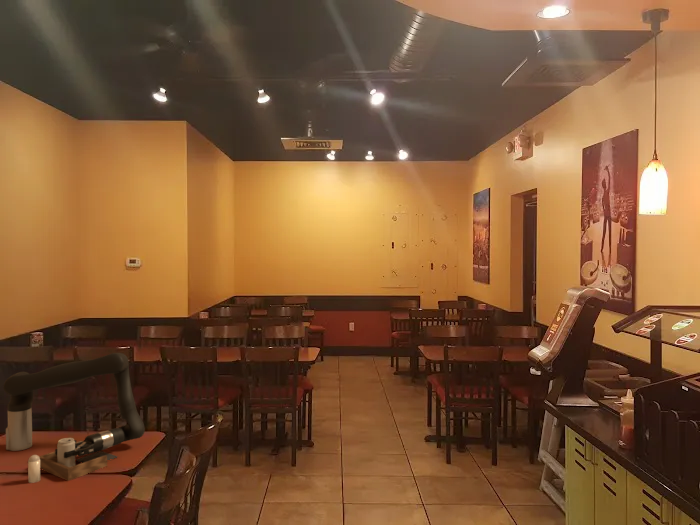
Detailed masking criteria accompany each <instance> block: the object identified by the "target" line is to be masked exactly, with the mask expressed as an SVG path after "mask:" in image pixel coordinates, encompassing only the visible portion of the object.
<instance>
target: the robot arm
mask: <svg viewBox="0 0 700 525" xmlns="http://www.w3.org/2000/svg"><path fill="white" fill-rule="evenodd" d="M104 375H113V377H114V380H115V385H116V398H117V406H118V411H119V414H120V417H121V419H122V420H124V421H126V423H127V424H124V425H122V426H119V427H115V428H111V429H108V430H102V431H100V432H96V433H92V434H90V435H87V436H85V438H84V440H79V441H77V440H76V439H74V441H75V449H74V450H72V451H69V452H64V458H68V457H71V456H76V457H84V456H88V455H91V454H94V453H97V452H100V451H104V450H106V449H108V448H112V447H114V446H118V445H120V444H121V443H124V442H128V441H132V440H136V439H140V438H142V437H143V436H144V434H145V431H146V430H145V424H144V421H143V419H142V418H141V416H140V414H139V412H138V410H137V405H136V401H135V398H134V394H133V388H132V384H131V377H130V376H131V375H130V362H129V358H128V356H127V355H126V354H125V353H123V352H112V353H109V354H106V355H103V356H101V357H97V358H94V359H87V360H86V359H85V360H77V361H72V362H71V361H70V362H66V363H61V364H58V365H54V366H50V367H48V368H46V369H43V370H41V371H38V372H34V373H29V372H27V371H20V372H17V373H14V374H12V375H10V376H9V377H8V378H7V379H6V380H5V381H4V383H3V387H2V388H3V391H4V392H5V393H6V394H8V395H10V399H9V402H8V404H7V427H6V428H5V450H6V451H13V452H15V451H22V450H23V451H24V450H26V449H29V448H32V446H33V416H32V415H33V414H32V412H33V410H32V409H33V408H32V406H33V402H34V393H35V392H34V391H37V390H42V389H46V388H53V387H59V386H64V385H70V384H75V383H78V382H81V381H84V380H86V379H89V378H92V377H96V376H104ZM54 452H55V454H56V455H57V448H55V449H54ZM77 455H78V456H77Z"/></svg>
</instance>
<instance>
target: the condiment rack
mask: <svg viewBox="0 0 700 525" xmlns="http://www.w3.org/2000/svg"><path fill="white" fill-rule="evenodd" d="M38 456H39V457H40V468H41V469H43V470H42V471H44V470H45V471H44V472H46V471H47V472H46V473H49V474H51V475H54V476H56V477H57V478H58V477H59V478H60V479H63V480H66V481H72V480H75V479H77V478H80V477H82V476H86V475H88V473H89V474H91V473H93V472H92V471H94V472H96V471H95V470H97V471H99V470H98V469H100V468H102V469H104V468H103V467H105V466H107V467H108V461H107V456H106V455H105V456H102V457H99V458H96V459H93V460H90V461H87V462H84V463H78V464H75V466H72V467H67V466H65V465H62V464H60V463H57V455H56V454H55V451H52V452H49V453H46V454H43V455H38ZM105 468H106V467H105ZM41 469H40V470H41ZM100 470H101V469H100ZM90 472H91V473H90Z"/></svg>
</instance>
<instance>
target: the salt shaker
mask: <svg viewBox="0 0 700 525" xmlns="http://www.w3.org/2000/svg"><path fill="white" fill-rule="evenodd" d="M39 456H40V455H37V454H32V455H31V456H30V457H29V458H28V461H27V468H28V469H27V470H28V471H27V472H28V473H27V474H28V475H27V476H28V478H27V479H28V480H27V481H28V483H29V484H33V483H38V482H40V481H41V469H40V457H39Z"/></svg>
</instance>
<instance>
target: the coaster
mask: <svg viewBox="0 0 700 525" xmlns="http://www.w3.org/2000/svg"><path fill="white" fill-rule="evenodd" d="M105 455H106V456H107V460H110V459H113V460H115V459H114V458H116V459H118V458H119V456H117V455H115V454H112V453H109V452H106V451H104V450H101V451H98V452H95V453H92V454H87V455H84V456H81V457H78V458H75V460H77V461H76V462H78V461H79V462H78V463H80V462H82V463H84V462H87V461H90V460H93V459H96V458H99V457H102V456H105ZM117 457H118V458H117ZM110 461H111V460H110Z"/></svg>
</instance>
